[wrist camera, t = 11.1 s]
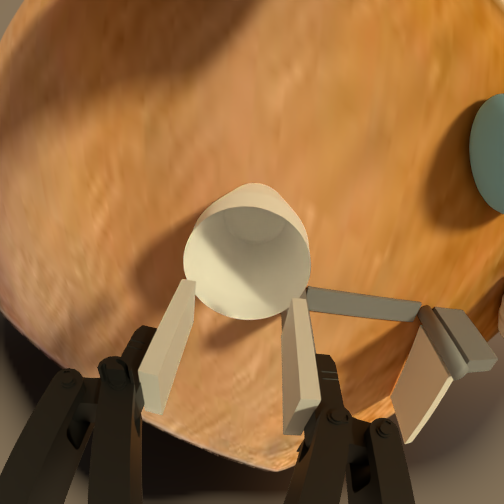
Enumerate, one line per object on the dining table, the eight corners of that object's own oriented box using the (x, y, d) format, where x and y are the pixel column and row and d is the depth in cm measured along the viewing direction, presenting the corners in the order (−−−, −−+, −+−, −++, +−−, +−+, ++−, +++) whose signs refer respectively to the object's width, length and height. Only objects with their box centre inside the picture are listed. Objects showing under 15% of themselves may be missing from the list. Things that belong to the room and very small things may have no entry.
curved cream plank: (420, 324, 35) (448, 376, 26) (433, 323, 35) (463, 373, 26) (390, 396, 42) (404, 443, 33) (402, 394, 41) (417, 440, 32)
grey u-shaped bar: (285, 282, 34) (290, 357, 23) (464, 307, 34) (503, 361, 24) (280, 303, 35) (282, 379, 24) (455, 323, 36) (490, 378, 25)
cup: (229, 262, 33) (211, 332, 23) (199, 187, 30) (159, 228, 19) (308, 240, 32) (326, 304, 21) (283, 159, 28) (292, 184, 17)
